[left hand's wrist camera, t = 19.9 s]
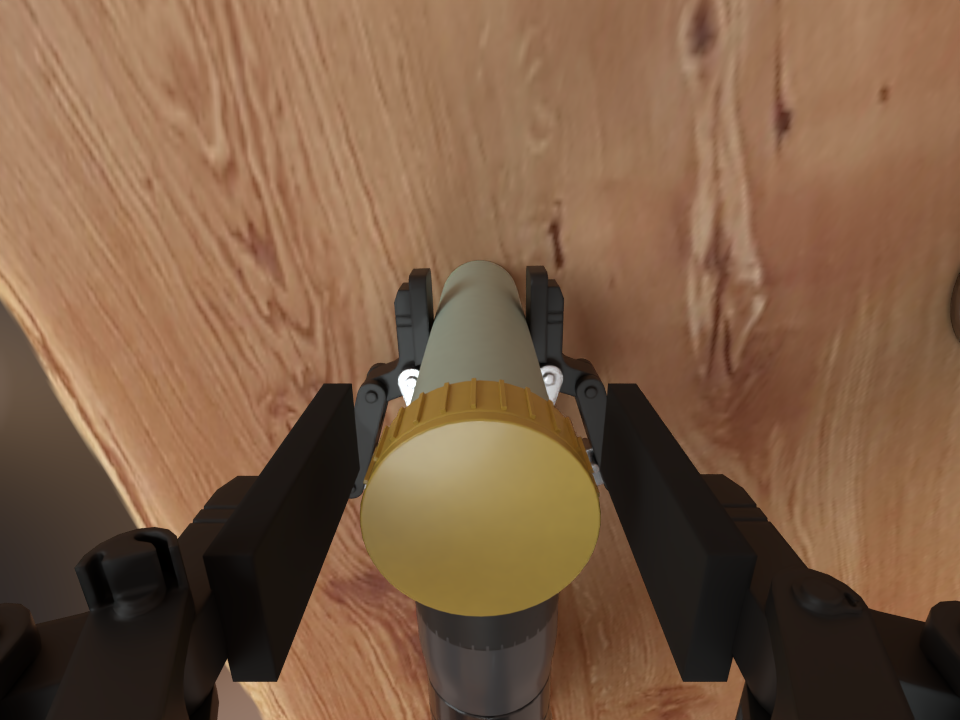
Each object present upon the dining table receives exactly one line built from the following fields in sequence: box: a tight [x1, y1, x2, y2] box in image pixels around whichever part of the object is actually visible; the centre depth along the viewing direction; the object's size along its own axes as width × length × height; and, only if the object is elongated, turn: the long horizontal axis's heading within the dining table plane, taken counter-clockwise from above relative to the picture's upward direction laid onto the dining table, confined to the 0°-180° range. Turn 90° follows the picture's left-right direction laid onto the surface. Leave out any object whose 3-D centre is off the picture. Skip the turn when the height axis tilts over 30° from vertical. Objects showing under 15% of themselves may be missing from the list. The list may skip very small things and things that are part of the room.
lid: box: [360, 378, 601, 617], centre depth 11 cm, size 5×5×2 cm
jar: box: [410, 260, 549, 404], centre depth 20 cm, size 4×4×18 cm
